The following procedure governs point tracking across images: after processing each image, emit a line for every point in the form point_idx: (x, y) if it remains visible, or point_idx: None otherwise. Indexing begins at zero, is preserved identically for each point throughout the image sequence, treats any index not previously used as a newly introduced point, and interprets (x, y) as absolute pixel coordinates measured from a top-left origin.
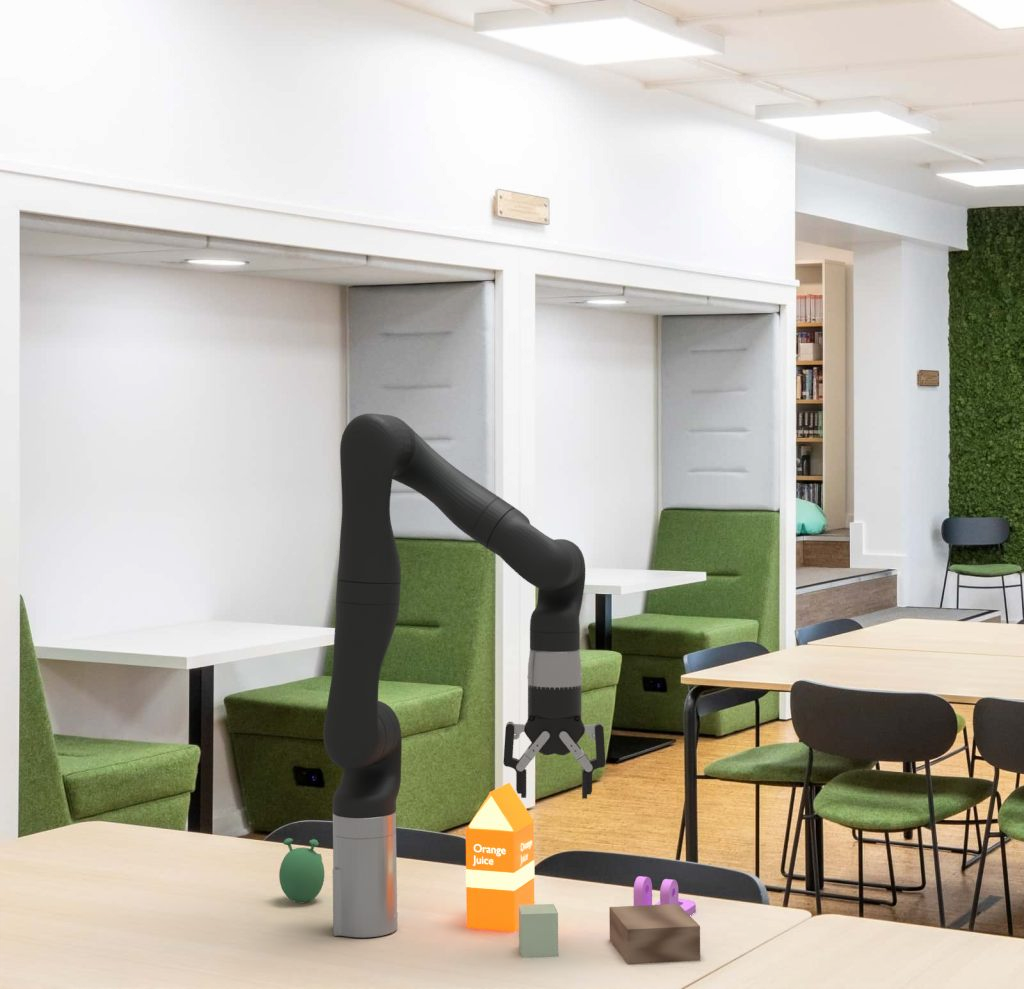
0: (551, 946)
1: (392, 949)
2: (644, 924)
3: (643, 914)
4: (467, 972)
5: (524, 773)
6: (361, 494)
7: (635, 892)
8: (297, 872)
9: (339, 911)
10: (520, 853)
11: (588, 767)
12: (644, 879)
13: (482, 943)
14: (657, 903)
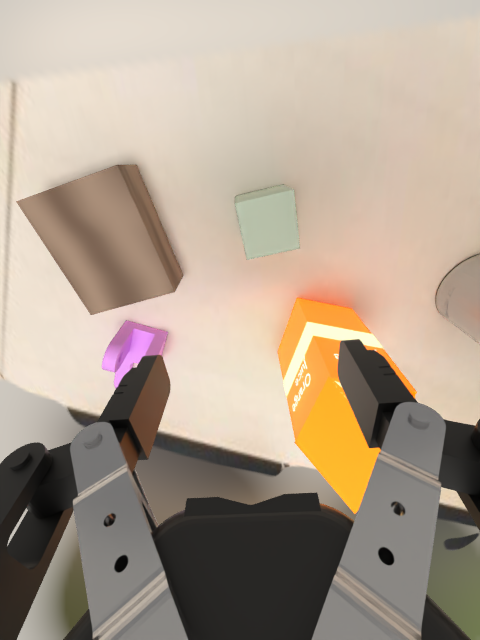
0: (244, 195)
1: (456, 207)
2: (100, 200)
3: (119, 258)
4: (362, 88)
5: (383, 397)
6: None
7: (155, 353)
8: None
9: None
10: (308, 372)
11: (88, 436)
12: None
13: (335, 247)
14: None
